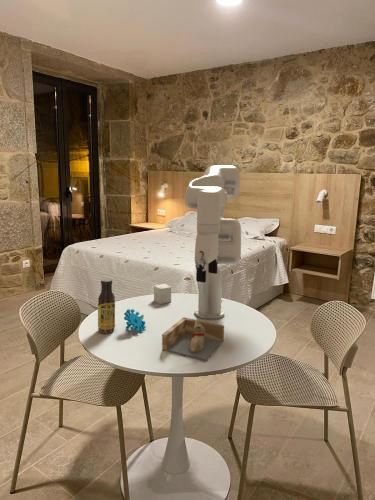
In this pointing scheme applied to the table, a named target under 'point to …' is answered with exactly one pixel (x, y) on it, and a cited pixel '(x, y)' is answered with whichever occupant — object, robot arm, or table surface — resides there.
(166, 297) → the skincare box
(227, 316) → the table surface
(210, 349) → the slate mat
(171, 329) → the corner rails
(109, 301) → the sauce bottle
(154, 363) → the table surface
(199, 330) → the tan rounded piece
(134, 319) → the gear
